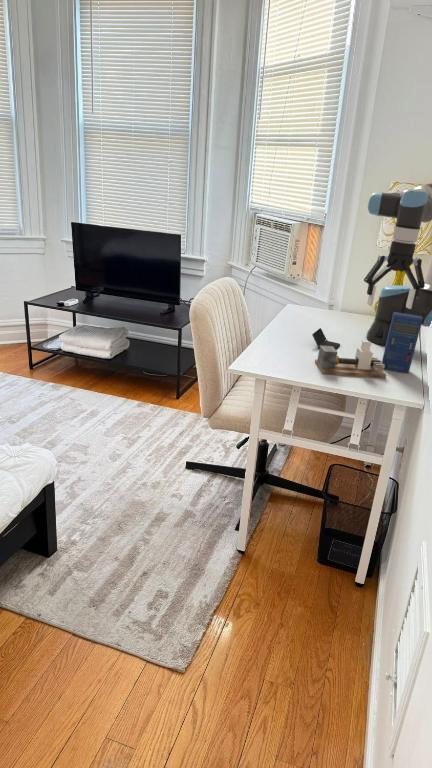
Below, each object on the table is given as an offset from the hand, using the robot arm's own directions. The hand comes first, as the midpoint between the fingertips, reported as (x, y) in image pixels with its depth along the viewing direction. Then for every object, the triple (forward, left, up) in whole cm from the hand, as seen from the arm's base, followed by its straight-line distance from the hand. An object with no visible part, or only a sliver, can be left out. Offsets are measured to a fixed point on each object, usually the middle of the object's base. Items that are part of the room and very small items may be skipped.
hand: (389, 306), depth 176 cm
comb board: (+10, +2, -23) cm, 25 cm away
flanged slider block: (+6, +2, -22) cm, 22 cm away
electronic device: (-8, -3, -23) cm, 25 cm away
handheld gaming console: (+12, -24, -24) cm, 35 cm away
